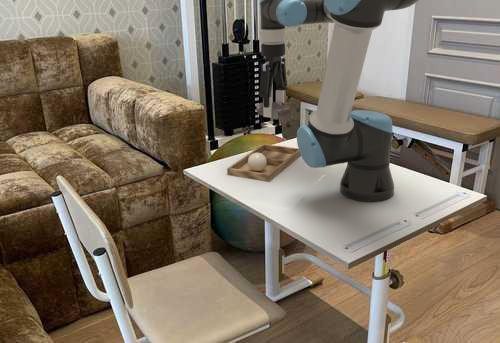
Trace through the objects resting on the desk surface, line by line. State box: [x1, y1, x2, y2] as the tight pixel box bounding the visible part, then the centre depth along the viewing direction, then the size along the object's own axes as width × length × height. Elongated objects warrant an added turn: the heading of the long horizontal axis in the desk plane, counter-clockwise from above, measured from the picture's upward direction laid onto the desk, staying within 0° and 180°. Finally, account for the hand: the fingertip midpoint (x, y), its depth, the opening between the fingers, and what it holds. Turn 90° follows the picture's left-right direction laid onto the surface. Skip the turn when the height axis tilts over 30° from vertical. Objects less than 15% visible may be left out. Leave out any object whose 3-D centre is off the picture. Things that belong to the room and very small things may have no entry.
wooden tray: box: [226, 143, 301, 183], centre depth 163 cm, size 15×26×3 cm, turn 152°
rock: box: [256, 101, 292, 120], centre depth 163 cm, size 8×11×5 cm
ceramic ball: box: [248, 153, 267, 171], centre depth 157 cm, size 6×6×6 cm
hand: (274, 113), depth 163 cm, fingers closed on rock, 9 cm apart
